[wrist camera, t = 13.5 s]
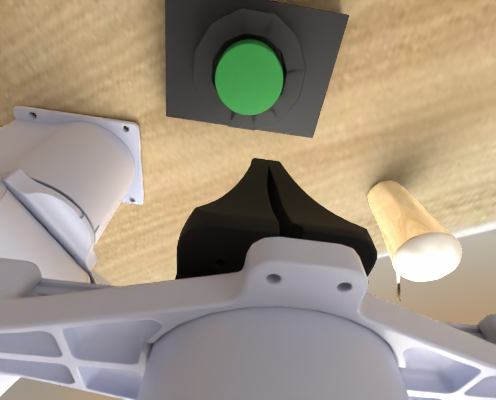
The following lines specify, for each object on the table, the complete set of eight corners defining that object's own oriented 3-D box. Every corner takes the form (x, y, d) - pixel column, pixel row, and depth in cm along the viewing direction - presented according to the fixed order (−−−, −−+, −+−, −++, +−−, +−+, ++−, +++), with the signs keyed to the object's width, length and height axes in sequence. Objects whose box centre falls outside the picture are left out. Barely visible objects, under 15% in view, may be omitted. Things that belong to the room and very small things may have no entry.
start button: (214, 101, 19) (211, 110, 18) (220, 33, 17) (218, 37, 16) (273, 110, 20) (275, 119, 18) (287, 45, 18) (290, 49, 16)
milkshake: (342, 199, 28) (381, 285, 20) (394, 164, 26) (462, 244, 17) (368, 225, 30) (413, 313, 21) (418, 194, 27) (490, 280, 19)
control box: (171, 108, 23) (160, 124, 20) (171, -19, 18) (157, -20, 15) (308, 128, 24) (316, 147, 21) (341, 13, 19) (357, 16, 16)
